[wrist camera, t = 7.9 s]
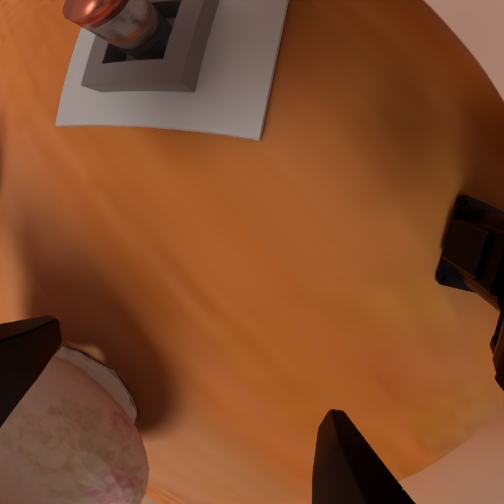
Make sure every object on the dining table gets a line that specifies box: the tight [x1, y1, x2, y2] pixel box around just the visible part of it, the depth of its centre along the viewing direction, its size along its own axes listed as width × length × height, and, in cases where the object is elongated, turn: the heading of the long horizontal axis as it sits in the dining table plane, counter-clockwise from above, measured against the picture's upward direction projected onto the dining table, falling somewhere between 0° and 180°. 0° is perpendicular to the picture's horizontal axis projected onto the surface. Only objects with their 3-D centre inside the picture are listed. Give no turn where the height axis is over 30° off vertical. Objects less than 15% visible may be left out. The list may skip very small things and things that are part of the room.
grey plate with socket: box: [55, 0, 289, 141], centre depth 14 cm, size 16×12×4 cm
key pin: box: [63, 0, 173, 60], centre depth 11 cm, size 3×3×8 cm
